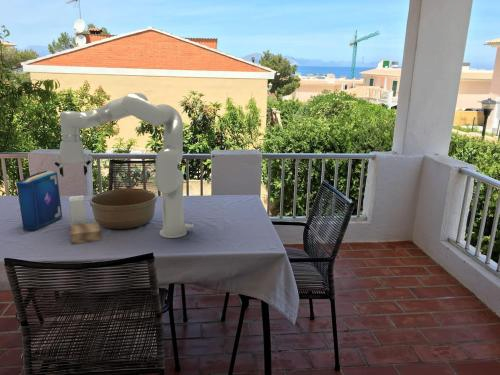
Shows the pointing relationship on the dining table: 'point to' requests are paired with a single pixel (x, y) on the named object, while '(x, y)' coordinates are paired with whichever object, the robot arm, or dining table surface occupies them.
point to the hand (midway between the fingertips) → (74, 175)
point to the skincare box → (77, 210)
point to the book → (39, 200)
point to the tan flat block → (85, 233)
